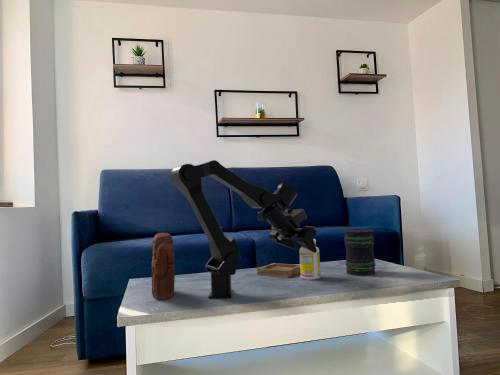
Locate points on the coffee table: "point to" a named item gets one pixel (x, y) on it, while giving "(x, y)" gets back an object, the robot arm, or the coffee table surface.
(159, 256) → the wooden figurine
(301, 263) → the supplement bottle
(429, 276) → the coffee table surface
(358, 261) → the storage jar
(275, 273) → the walnut tray
